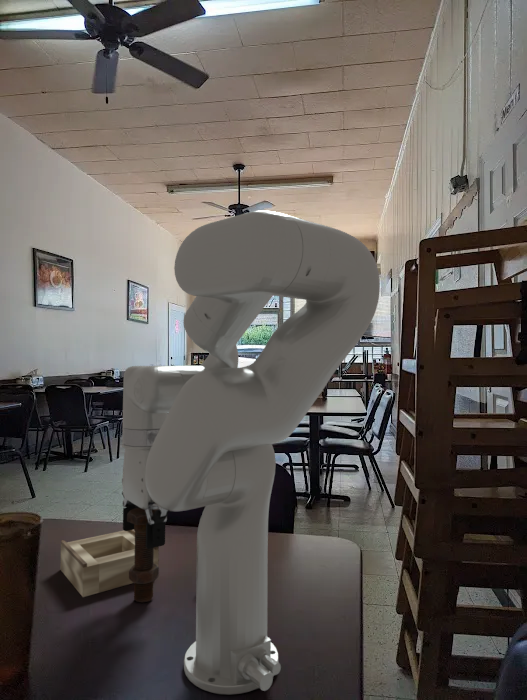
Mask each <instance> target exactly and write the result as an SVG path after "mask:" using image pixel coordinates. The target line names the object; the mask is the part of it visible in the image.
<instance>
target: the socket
mask: <svg viewBox="0 0 527 700" xmlns="http://www.w3.org/2000/svg"><path fill="white" fill-rule="evenodd" d="M159 547H160V546H159ZM159 547H155V548H154V557H153V558H154V559H153V560H154V561H153V563H154V564H156V565H157V566H158V567H159V560H160V559H159V557H160V556H159V555H160V554H159V553H160V551H159ZM134 550H135V531H134V530H129V531H124V530H123V529H122V530H119V531H114V532H110V533H106V534H101V535H96V536H91V537H87V538H82V539H77V540H76V539H75V540H72V541H68V542H67V541H66V540H64V539H63V540H60V571H61V572H62V573H63V575H64V576H65V577H66V578H67V580H68V581H69V582H70V584H72V586H73V587H74V588H75V589H76V591H77V592H78V593H79V594H80V595H81V597H82V598H85V597H89V596H92V595H95V594H99V593H103V592H106V591H110V590H114V589H117V588H120V587H121V588H122V587H123V586H124V587H125V586H128V585H130V584H134V583H133V582H132V581H131V580H130V579H129V570H130V569H131V567H132V566H133V565H134V564H135V563H134V562H135V561H134V560H135V559H134V558H135V557H134V556H135V555H134V554H135V553H134V552H135V551H134Z"/></svg>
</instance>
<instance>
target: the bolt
mask: <svg viewBox="0 0 527 700" xmlns="http://www.w3.org/2000/svg"><path fill="white" fill-rule="evenodd" d="M156 510H158V509H153V510H152V513H153V515H154V513H155V511H156ZM127 522H130V523H133V524H134V531H135V550H134V551H135V552H134V553H135V554H134V555H135V556H134V557H135V558H134V559H135V560H134V561H135V562H134V563H135V564H134V565H133V566H132V567H131V569H130V570H129V579H130V580H131V581H132V582H133V583H132V584H134V587H133V591H134V592H133V600H134V601H136V602H137V603H146V602H150V601H152V599H153V598H154V581H156V579H157V578H158V577H159V575H160V574H159V573H160V572H159V571H160V568H159V565H158V566H157V565H156V564H154V563H153V561H154V560H153V559H154V558H153V557H154V548H151V549H147V548H146V524H147V523H149V522H148V519H147V515H146V511H145V510H144V509H142V508H140V507H139V508H135V509H132V510H130V511H129V512H128V514H127Z"/></svg>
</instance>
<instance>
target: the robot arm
mask: <svg viewBox="0 0 527 700" xmlns="http://www.w3.org/2000/svg"><path fill="white" fill-rule="evenodd" d="M173 269H174V276H175V281H176V283H177V284H178V286H179V287H180V289H181V290H182V291H183V292H184V293H186V294H188V295H191V296H195V298H194V299H193V300H192V302H191V304H190V305H189V307H188V308H187V310H186V311H185V314H184V316H183V327H184V330H185V332H186V334H187V336H188V337H189V338H190V340H191V341H192V343H194V344H195V345H196V346H197V347H199V348H201V350H202V351H205V352H206V353H209V354H208V355H207V357H206V358H205V360H204V361H203V362H202V363H200V364H199V365H133V366H129V367H127V368H126V369H125V370H124V373H123V385H122V386H123V388H122V389H123V391H122V393H123V395H122V397H123V398H122V436H121V439H122V443H121V444H122V445H121V447H122V448H123V449H124V453H123V465H122V478H121V486H122V492H121V495H122V496H123V499H122V507H123V508H122V531H123V530H124V531H129V530H134V524H133V523H130V522H127V514H128V512H129V511H130V510H132V509H135V508H139V507H140V508H142V509H144V510H145V511H146V515H147V519H148V522H149V523H147V524H146V548H147V549H151V548H155V547H162V546H163V547H164V546H165V544H166V522H167V520H168V515H169V512H183V511H190V510H194V509H199V508H203V507H204V509H203V511H202V515H201V516H200V519H199V524H198V527H197V533H196V572H195V573H196V574H195V576H196V578H195V579H196V580H195V582H196V584H195V585H196V587H195V588H196V589H195V592H196V595H195V596H196V599H195V600H196V601H195V604H196V606H195V614H196V615H195V618H196V619H195V641H194V642H193V643H192V644H191V645H190V646H189V647H188V649H187V650H186V652H185V654H184V657H183V670H184V674H185V676H186V677H187V679H188V680H189V682H191V683H192V684H193V685H194V686H195V687H198V688H199V689H201V690H203V691H206V692H209V693H213V694H217V695H239V694H244V693H249V692H253V691H255V690H258V689H260V690H261V691H264V692H266V691H268V690H269V689H270V688H271V686H272V685H273V679H274V676H277V675H279V674H280V672H281V668H282V666H281V663H280V662H279V659H280V658H279V656H280V655H279V652H278V649H277V647H276V646H275V645H274V643H272V642H271V641H272V639H271V638H270V637H268V552H269V550H268V546H269V545H268V543H269V541H268V539H269V535H268V534H269V514H270V513H269V511H270V504H271V503H270V502H271V496H272V495H271V494H272V492H273V491H272V490H273V485H274V481H275V475H276V465H277V464H276V462H277V461H276V460H277V459H276V454H275V450H274V446H273V444H277V443H279V442H282V441H284V440H286V439H287V438H289V437H290V436H291V435H292V434H293V432H295V430H296V429H297V427H298V426H299V425H300V423H302V421H303V419H304V418H305V416H306V415H307V413H308V412H309V411H310V409H311V407H312V406H313V405H314V404H315V402H316V400H317V399H318V398H319V396H320V394H321V393H322V392H323V390H324V389H325V388H326V386H327V384H328V382H329V381H330V379H331V378H332V376H334V374H335V373H336V371H337V369H338V368H339V367H340V366H341V364H342V363H343V362H344V360H345V359H346V358H347V356H348V355H349V354H350V353H351V351H352V350H353V349H354V348H355V347H356V346H357V344H358V343H359V342H360V340H361V339H362V337H363V336H364V334H365V333H366V332H367V330H368V328H369V326H370V324H371V322H372V321H373V318H374V316H375V314H376V311H377V308H378V303H379V300H380V299H379V298H380V292H381V290H380V288H381V283H380V281H381V280H380V273H379V267H378V265H377V261H376V259H375V257H374V256H373V253H371V251H370V250H369V248H368V247H367V246H366V244H364V243H363V242H362V241H361V240H359V238H357V237H355V236H353V235H351V234H349V233H347V232H346V231H343V230H340V229H337V228H335V227H331V226H328V225H324V224H322V223H321V224H320V223H317V222H313V221H309V220H305V219H302V218H301V217H300V218H299V217H296V216H292V215H288V214H287V213H286V214H285V213H282V212H278V211H277V212H276V211H271V210H254V211H250V212H246V213H241V214H239V215H235V216H231V217H228V218H227V217H226V218H224V219H220V220H216V221H213V222H208V223H206V224H204V225H201V226H198V227H197V228H195V229H194V230H192V231H191V232H190V233H189V234H188V235H187V236H186V237H185V238H184V239H183V241H182V243H181V244H180V246H179V248H178V250H177V252H176V256H175V260H174V267H173ZM273 296H274V297H281V298H290V299H297V300H305V304H304V305H303V306H302V307H301V308H300V309H298V311H296V312H295V313H293V314H292V315H291V316H290V317H288V318H287V319H285V320H284V321H283V322H282V323H281V324H280V325H278V327H277V328H276V329H275V330H274V332H273V333H272V334H271V336H270V338H269V339H268V341H267V343H266V344H265V346H264V348H263V349H262V351H261V353H260V354H259V356H258V357H257V358H256V359H255V361H253V362H252V363H250V364H248V365H245V366H241V367H239V352H238V351H239V350H238V346H237V344H238V342H239V341H240V339H242V337H243V335H244V334H245V333H246V331H247V330H249V328H250V326H251V325H252V324H253V322H254V321H255V320H256V319H257V317H258V316H259V315H260V314H261V312H262V311H263V309H264V308H265V307H266V305H267V304H268V303H269V301H270V300H271V299H272V297H273ZM153 509H158V510H156V511H155V513H154V515H153V513H152V510H153Z"/></svg>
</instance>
